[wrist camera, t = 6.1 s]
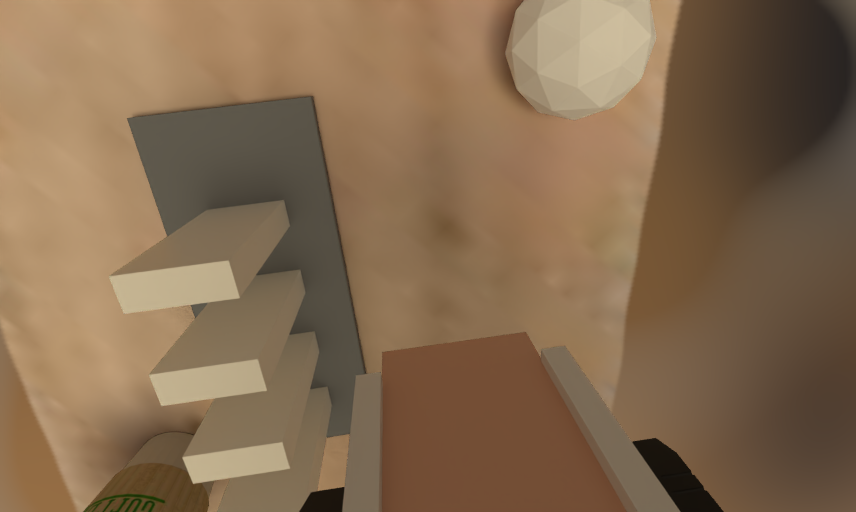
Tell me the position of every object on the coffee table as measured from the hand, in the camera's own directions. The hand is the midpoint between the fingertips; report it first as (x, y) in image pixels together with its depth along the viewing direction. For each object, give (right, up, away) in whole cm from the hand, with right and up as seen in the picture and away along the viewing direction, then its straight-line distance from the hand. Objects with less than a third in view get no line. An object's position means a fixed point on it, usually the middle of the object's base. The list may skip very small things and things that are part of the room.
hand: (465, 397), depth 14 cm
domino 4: (-11, -7, +21) cm, 25 cm away
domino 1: (-13, +7, +15) cm, 21 cm away
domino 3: (-12, -2, +19) cm, 23 cm away
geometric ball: (+7, +18, +14) cm, 24 cm away
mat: (-12, +2, +18) cm, 22 cm away
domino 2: (-13, +2, +17) cm, 21 cm away
